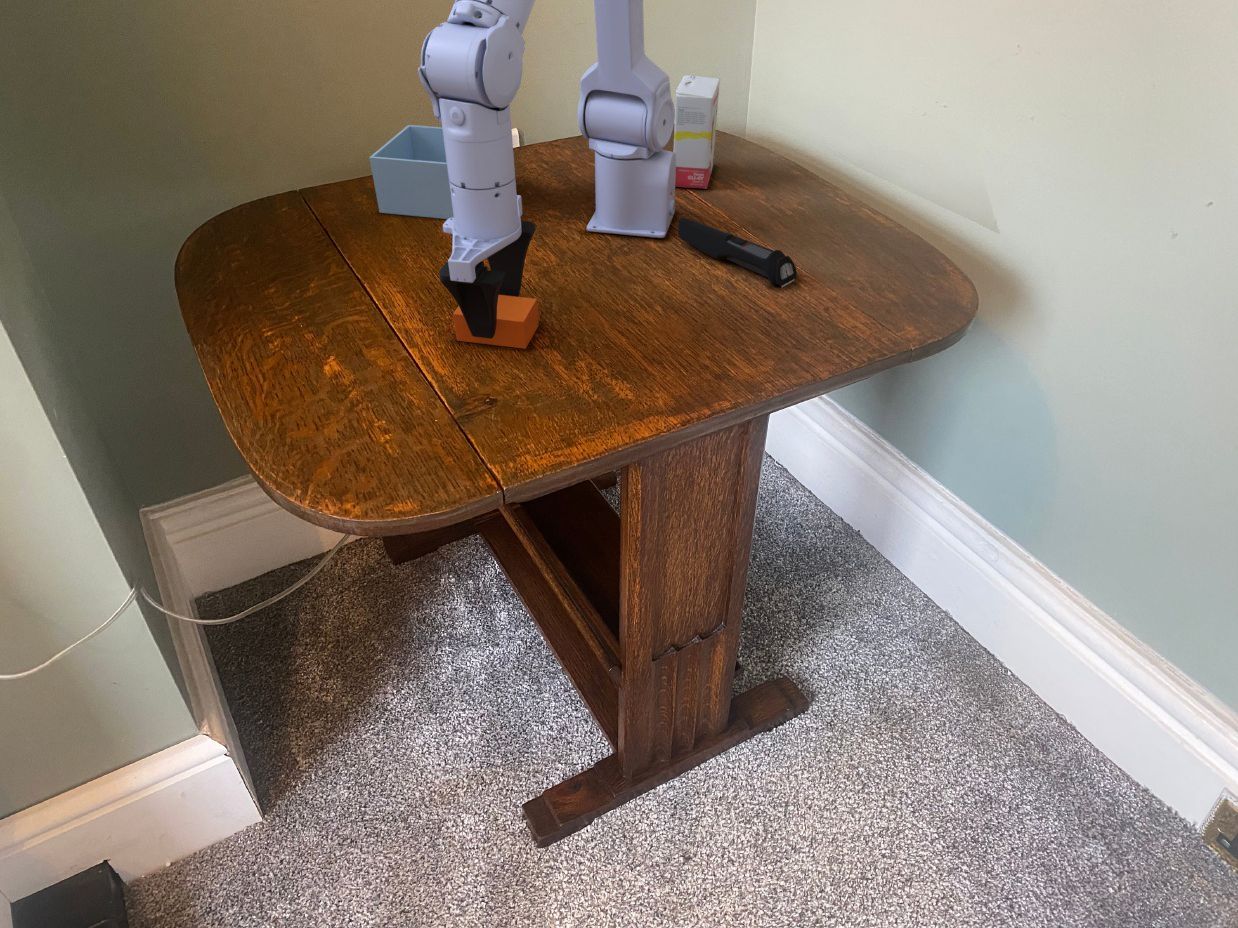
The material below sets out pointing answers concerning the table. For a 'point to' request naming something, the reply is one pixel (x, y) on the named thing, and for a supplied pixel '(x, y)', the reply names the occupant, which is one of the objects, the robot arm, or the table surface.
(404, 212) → the grey box
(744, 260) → the electric trimmer
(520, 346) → the packet
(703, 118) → the ink box
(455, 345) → the table surface
